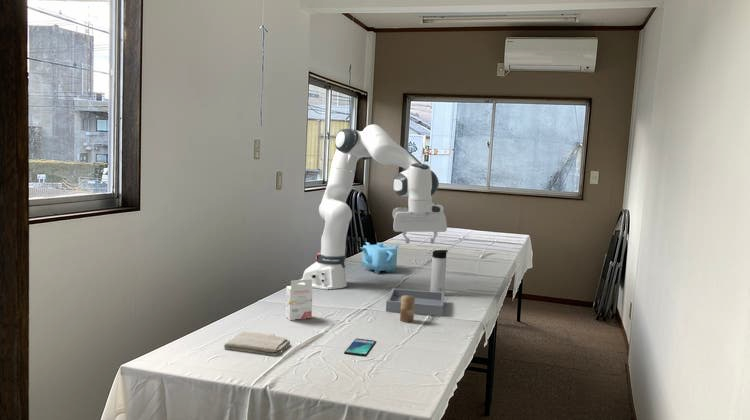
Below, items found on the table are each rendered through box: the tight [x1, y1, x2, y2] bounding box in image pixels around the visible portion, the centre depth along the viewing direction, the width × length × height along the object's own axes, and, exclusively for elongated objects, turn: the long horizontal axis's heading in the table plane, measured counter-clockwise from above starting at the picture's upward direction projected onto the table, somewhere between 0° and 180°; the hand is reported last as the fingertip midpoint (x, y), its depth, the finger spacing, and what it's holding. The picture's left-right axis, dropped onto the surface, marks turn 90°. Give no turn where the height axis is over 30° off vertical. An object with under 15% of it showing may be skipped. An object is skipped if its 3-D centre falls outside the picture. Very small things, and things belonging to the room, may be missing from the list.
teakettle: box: [359, 241, 400, 274], centre depth 305 cm, size 19×19×15 cm
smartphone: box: [343, 338, 377, 357], centre depth 188 cm, size 7×1×15 cm
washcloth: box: [223, 331, 291, 356], centre depth 184 cm, size 12×18×3 cm, turn 79°
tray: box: [385, 287, 445, 317], centre depth 240 cm, size 22×22×4 cm
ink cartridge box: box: [285, 279, 313, 321], centre depth 215 cm, size 9×5×15 cm, turn 118°
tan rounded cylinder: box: [399, 295, 415, 324], centre depth 219 cm, size 5×5×9 cm
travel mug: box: [429, 249, 448, 294], centre depth 262 cm, size 6×7×20 cm
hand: (419, 243), depth 224 cm, fingers open, 8 cm apart
